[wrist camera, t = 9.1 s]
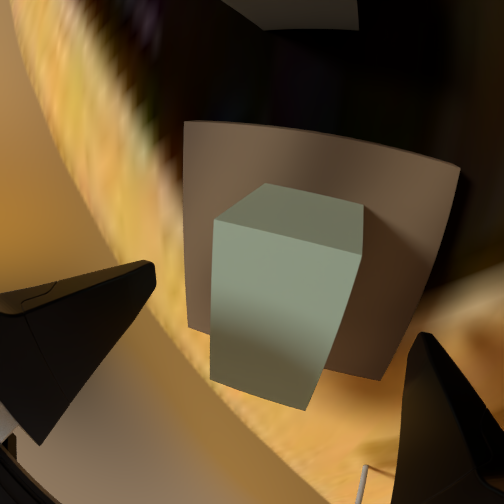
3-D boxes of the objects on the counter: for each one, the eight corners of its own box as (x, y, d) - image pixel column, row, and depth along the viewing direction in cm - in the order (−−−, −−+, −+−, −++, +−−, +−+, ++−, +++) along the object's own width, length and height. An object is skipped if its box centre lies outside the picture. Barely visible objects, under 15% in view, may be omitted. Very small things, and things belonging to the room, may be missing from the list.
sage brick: (363, 204, 10) (362, 255, 6) (325, 337, 12) (305, 411, 9) (265, 183, 11) (213, 219, 7) (249, 315, 13) (210, 379, 10)
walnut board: (452, 163, 9) (460, 168, 8) (381, 366, 13) (380, 381, 12) (197, 120, 11) (184, 121, 11) (197, 316, 16) (188, 327, 15)
